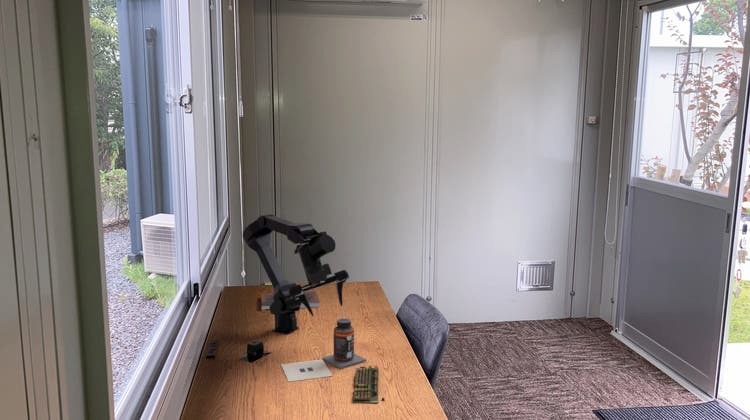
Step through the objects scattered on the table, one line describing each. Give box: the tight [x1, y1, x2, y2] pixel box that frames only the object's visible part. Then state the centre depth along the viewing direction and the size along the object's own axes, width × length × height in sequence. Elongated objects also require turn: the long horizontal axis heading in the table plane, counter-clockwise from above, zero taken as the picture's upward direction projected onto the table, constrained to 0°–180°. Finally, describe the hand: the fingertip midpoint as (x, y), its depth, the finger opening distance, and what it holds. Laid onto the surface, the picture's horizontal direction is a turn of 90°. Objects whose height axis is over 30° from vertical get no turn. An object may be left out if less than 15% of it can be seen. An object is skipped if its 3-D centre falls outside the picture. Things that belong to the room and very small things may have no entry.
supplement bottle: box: [333, 318, 355, 361], centre depth 176 cm, size 6×6×11 cm
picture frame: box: [260, 290, 322, 311], centre depth 233 cm, size 16×2×22 cm
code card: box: [281, 358, 333, 383], centre depth 169 cm, size 12×12×1 cm
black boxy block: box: [237, 339, 273, 364], centre depth 180 cm, size 12×7×5 cm, turn 148°
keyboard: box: [352, 364, 387, 405], centre depth 160 cm, size 22×9×2 cm, turn 179°
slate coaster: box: [322, 353, 367, 370], centre depth 176 cm, size 9×9×1 cm
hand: (327, 310), depth 186 cm, fingers open, 9 cm apart
